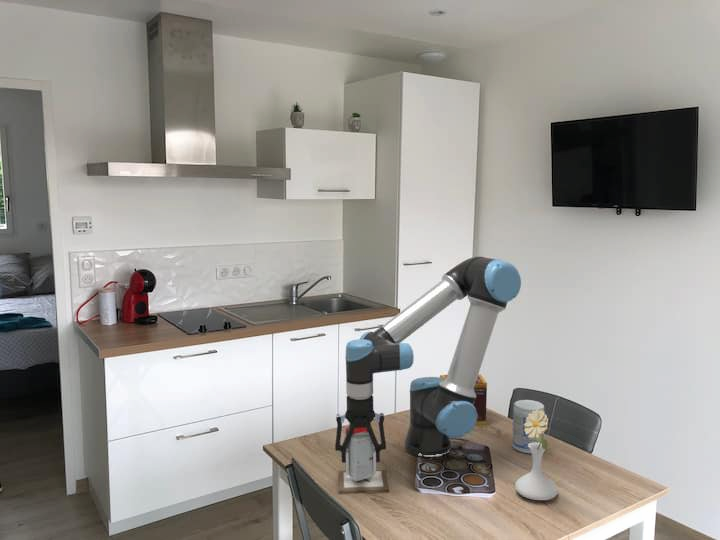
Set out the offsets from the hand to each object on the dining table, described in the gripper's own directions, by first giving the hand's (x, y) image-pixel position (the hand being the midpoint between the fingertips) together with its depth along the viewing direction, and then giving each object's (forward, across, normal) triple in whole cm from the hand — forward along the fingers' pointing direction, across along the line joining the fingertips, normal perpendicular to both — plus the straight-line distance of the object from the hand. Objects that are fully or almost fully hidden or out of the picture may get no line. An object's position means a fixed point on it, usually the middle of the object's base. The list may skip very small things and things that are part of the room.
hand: (361, 472), depth 172 cm
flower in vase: (+4, -48, +10) cm, 49 cm away
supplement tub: (+4, -54, -20) cm, 58 cm away
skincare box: (+1, 0, 0) cm, 1 cm away
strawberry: (+3, 0, -23) cm, 23 cm away
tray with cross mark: (+3, -1, 0) cm, 3 cm away
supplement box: (+4, -38, -45) cm, 59 cm away
